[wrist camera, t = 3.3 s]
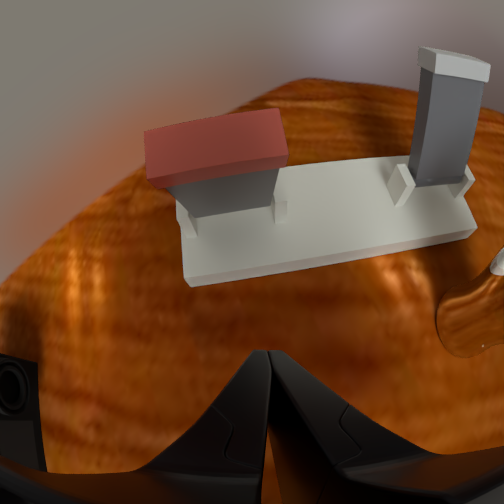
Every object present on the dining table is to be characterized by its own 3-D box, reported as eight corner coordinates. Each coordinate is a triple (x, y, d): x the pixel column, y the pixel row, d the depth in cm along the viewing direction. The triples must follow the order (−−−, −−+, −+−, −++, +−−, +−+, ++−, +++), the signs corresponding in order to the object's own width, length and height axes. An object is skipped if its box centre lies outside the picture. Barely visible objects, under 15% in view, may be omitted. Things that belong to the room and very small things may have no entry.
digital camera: (58, 478, 17) (4, 492, 10) (16, 465, 17) (-36, 470, 10) (47, 362, 21) (-10, 348, 15) (8, 359, 21) (-46, 344, 15)
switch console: (466, 238, 23) (494, 211, 19) (190, 287, 23) (172, 262, 19) (433, 166, 27) (452, 134, 22) (184, 198, 26) (170, 162, 22)
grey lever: (462, 189, 21) (490, 64, 13) (414, 194, 21) (436, 52, 13) (450, 175, 22) (472, 56, 15) (401, 179, 22) (418, 46, 15)
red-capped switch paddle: (271, 213, 22) (289, 154, 11) (196, 225, 22) (146, 179, 11) (266, 185, 22) (278, 107, 11) (193, 197, 22) (144, 131, 11)
